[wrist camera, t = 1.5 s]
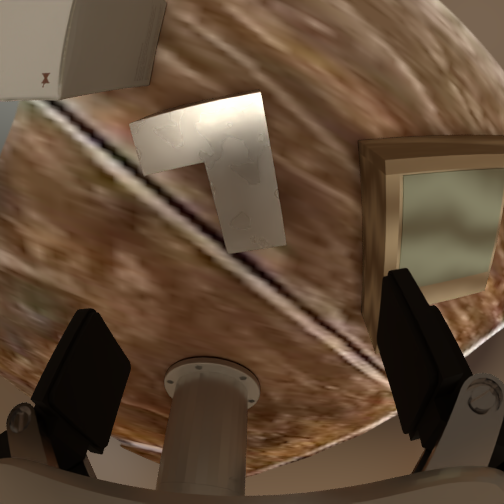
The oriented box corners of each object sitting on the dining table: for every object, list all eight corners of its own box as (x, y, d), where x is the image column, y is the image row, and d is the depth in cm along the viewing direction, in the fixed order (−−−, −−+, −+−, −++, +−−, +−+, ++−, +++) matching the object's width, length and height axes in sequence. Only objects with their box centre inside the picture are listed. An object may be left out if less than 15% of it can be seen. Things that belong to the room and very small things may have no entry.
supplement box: (170, 0, 17) (94, -53, 6) (150, 87, 21) (58, 106, 10) (87, 1, 17) (-17, -21, 6) (71, 82, 20) (-39, 108, 10)
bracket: (280, 209, 26) (286, 245, 21) (188, 224, 27) (172, 262, 22) (259, 89, 21) (260, 92, 16) (157, 112, 22) (129, 123, 17)
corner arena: (480, 285, 30) (504, 318, 25) (361, 312, 32) (375, 353, 27) (503, 135, 21) (543, 154, 16) (357, 140, 23) (385, 160, 18)
